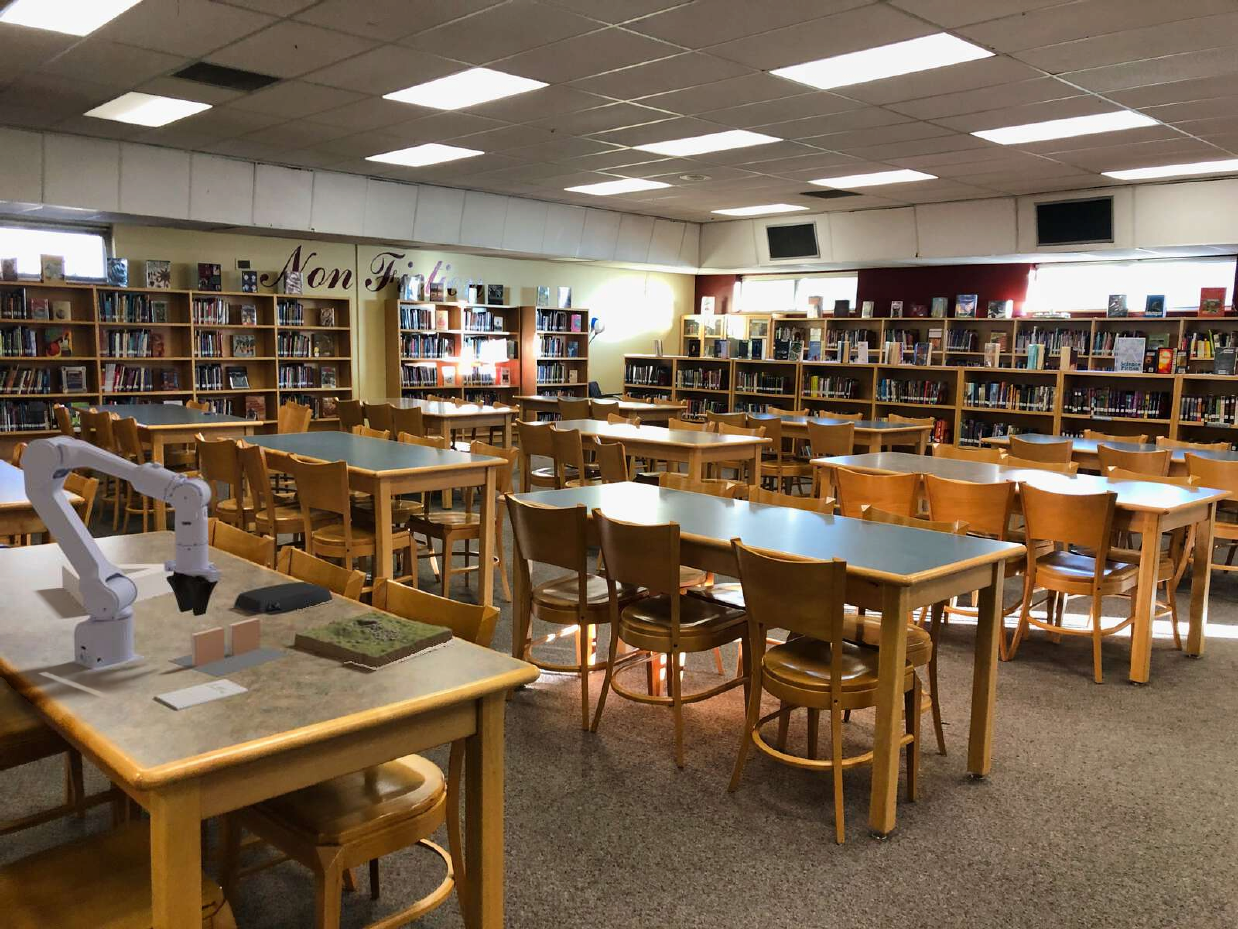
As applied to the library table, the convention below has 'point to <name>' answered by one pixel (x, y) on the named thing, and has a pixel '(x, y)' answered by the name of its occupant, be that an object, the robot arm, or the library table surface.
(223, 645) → the tile left
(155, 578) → the triangle block
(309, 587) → the external hard drive
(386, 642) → the miniature landscape model
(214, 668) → the slate mat
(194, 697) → the external hard drive
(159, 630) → the library table surface
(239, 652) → the tile right
